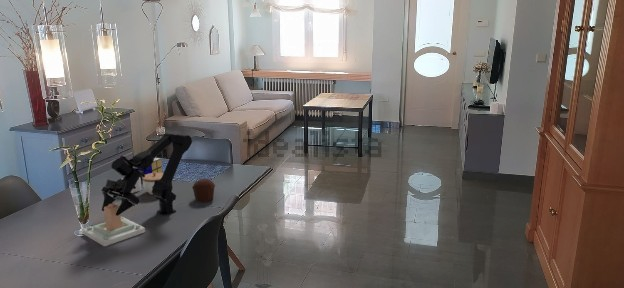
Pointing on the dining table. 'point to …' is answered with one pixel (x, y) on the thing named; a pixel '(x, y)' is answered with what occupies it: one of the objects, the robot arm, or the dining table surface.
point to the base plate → (113, 232)
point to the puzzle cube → (153, 167)
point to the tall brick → (112, 217)
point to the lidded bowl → (151, 181)
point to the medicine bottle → (137, 186)
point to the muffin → (203, 190)
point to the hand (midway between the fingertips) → (109, 213)
